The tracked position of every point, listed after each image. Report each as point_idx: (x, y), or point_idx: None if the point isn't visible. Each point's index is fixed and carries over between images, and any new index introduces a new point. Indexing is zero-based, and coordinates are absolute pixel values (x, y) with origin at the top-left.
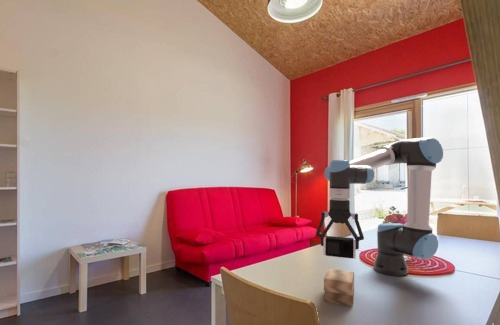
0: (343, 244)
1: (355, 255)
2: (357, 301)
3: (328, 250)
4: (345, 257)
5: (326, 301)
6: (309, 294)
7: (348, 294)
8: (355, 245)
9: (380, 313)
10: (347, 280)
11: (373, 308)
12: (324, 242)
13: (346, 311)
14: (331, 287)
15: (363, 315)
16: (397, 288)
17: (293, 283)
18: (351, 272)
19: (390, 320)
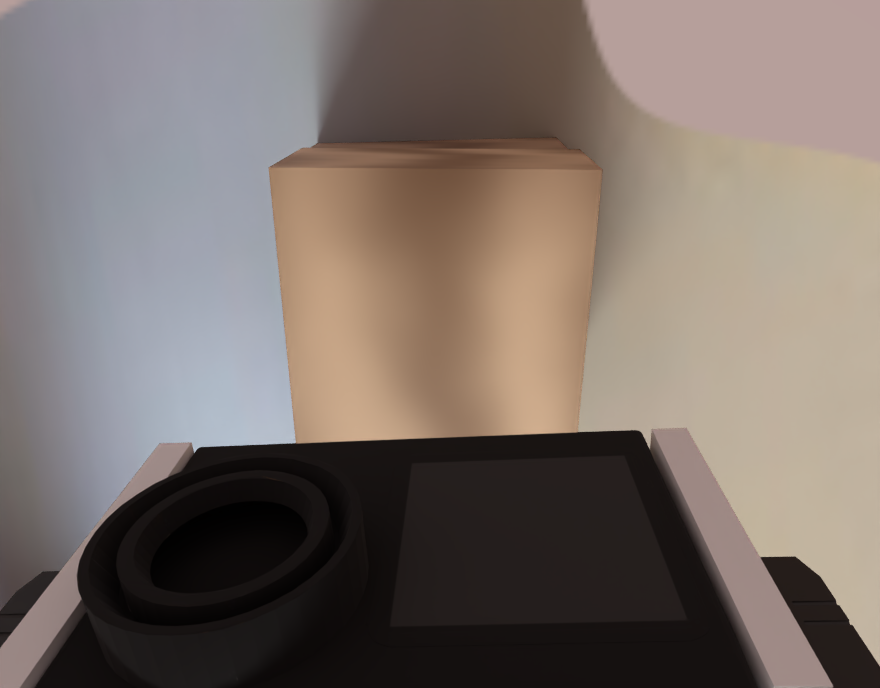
0: (282, 566)
1: (137, 473)
2: None
3: (616, 485)
4: (317, 444)
5: (541, 138)
6: (702, 226)
7: (333, 148)
8: (33, 608)
9: (97, 110)
10: (326, 225)
11: (162, 179)
12: (757, 599)
13: (353, 18)
14: (503, 156)
15: (211, 5)
16: None
17: (860, 393)
18: None
19: (5, 12)
